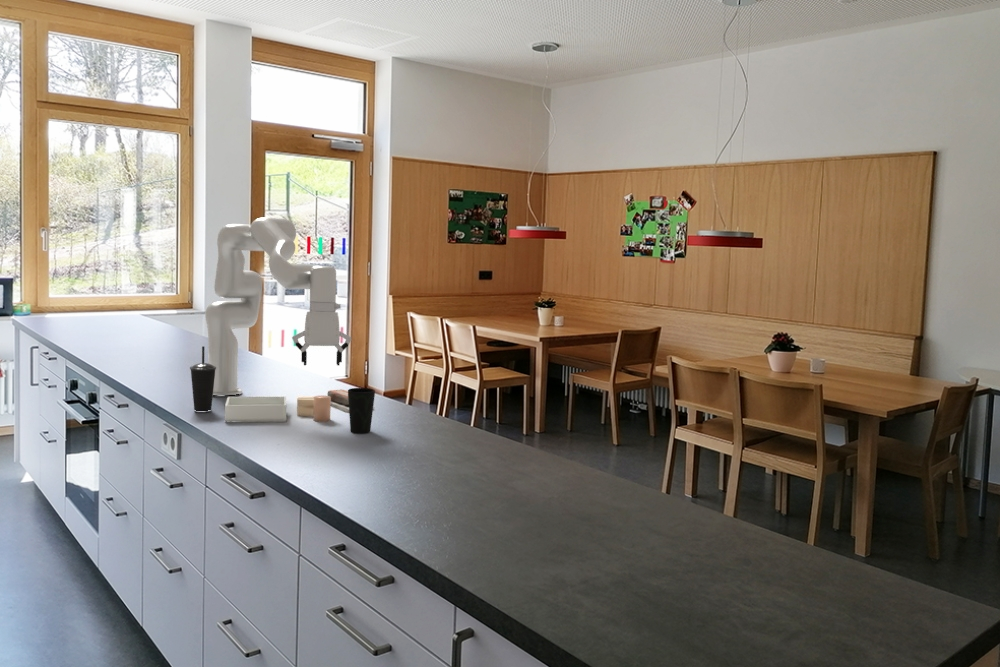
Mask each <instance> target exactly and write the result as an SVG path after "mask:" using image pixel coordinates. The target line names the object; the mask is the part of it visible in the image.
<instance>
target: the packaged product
mask: <svg viewBox="0 0 1000 667" xmlns="http://www.w3.org/2000/svg"><path fill="white" fill-rule="evenodd" d="M326 396H330V397H331V408H334V409H336V410H340V411H342V412H345V413H348V414H349V401H348V390H345V389H331V390H328V391H327V394H326ZM373 411H375V407H374V406H373Z"/></svg>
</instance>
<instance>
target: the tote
mask: <svg viewBox="0 0 1000 667" xmlns="http://www.w3.org/2000/svg"><path fill="white" fill-rule="evenodd" d="M225 421H241V422H240V423H281V422H282V423H283V422H284V423H285V422H287V396H227V398H226V400H225V405H224V422H225Z"/></svg>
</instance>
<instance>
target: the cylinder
mask: <svg viewBox="0 0 1000 667" xmlns="http://www.w3.org/2000/svg"><path fill="white" fill-rule="evenodd" d="M313 397H314V412H313V415H312V417H313V418H312V419H313V421H315V422H318V423H319V422H322V423H323V422H330V421H331V410H332V409H331V408H332V407H331V397H330V396H327V395H315V396H313Z"/></svg>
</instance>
